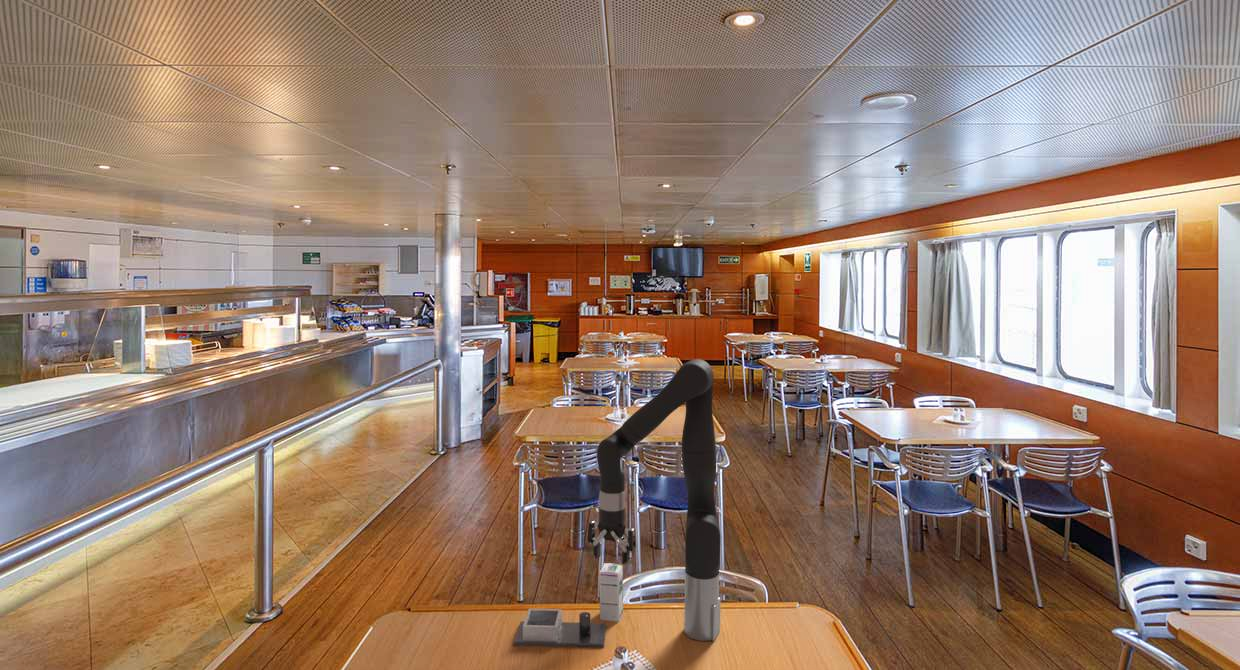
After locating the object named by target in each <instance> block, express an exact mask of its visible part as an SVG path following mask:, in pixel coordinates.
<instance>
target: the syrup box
mask: <svg viewBox="0 0 1240 670" xmlns="http://www.w3.org/2000/svg"><path fill="white" fill-rule="evenodd" d="M598 575H599V620H600V621H601V620H602V621H607V622H614V623H615V622H616V623H617V622H620V620H621V618H622V615H623V614H624V580H623V578H624V577H623V576H624V573H623V564H621V563H610V562H609V563H606V562H604V563H603V566H602V567H601V568H600V571H599V574H598Z"/></svg>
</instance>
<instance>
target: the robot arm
mask: <svg viewBox="0 0 1240 670" xmlns="http://www.w3.org/2000/svg"><path fill="white" fill-rule="evenodd" d="M714 375H715V374H714V371H713V369H712V367H711V365H710V364H709V363H708V362H707V361H705V360H703V359H700V358H695V359H691V360H689V361H687V362H685V363H684V364H682V365H681V366H680V367H679V368H678V370H677V371H676V373H675V374H673V377H672V378H671V379H670V380H669V381H668V383H667V384H666V385H665V386H664V388H662V389H661V391H660V392H658V393H657V394H656V395H655V396H653V397H652V399H650V400H649V401H648V402H646V403H645V404H644V405H642V406H641V407H640V408H639V409H637V410H636V411H635V412H634V413H633V414H632V415H631V416H630V417H628V418H627V419H626V420H625V421H624V422H623V424H622V425H621V426H620V427H619V428H618V429H617V430H615V431H614V432H612V434H610V435H608V436H607V437H606V438H604V439H602V440H601V441H600V442H599V444H598V446H597V452H596V458H597V459H596V460H597V466H598V472H599V475H600V477H599V479H600V480H599V487H600V488H599V495H598V522H597V521H596V519H593V520H591V521H589V523H588V525H587V526H588V527H587V529H588V530H587V542H588V543H590V544H592V546H593V556H594V557H595V559H597V560H599V559H600V557H601V555H602V552H601V551H602V544H601V542H602V540H603V539H604V541H611V542H613V543H615V542H616V544H617V545H618V546H619V547H620V548H621V549H622V553H621V555H622V558H621V559H622V561H621V565H626V564H627V563H628V562H629V560H630V552H633V551H634V550H635V549H636V548H637V535H636V534H637V533H636V528H635V527H631V528H628V527H626V525H625V523H626V492H625V491H626V489H625V488H626V487H625V486H626V485H625V484H626V477H625V472H624V470H623V469H622V468H621V459H622V458H624V457H625V456H626V455H627V454H628V453H629V452H630V451H632V449H634V447H635V446H636V445H637V444H638V443H640V442H642V441H643V440H644V439H645V438H647V437H648V436H649V435H650V434H651V433H653V432H654V431H655V430H656V429H657V428H658V427H659V426H660V425H661V424H662V423H663V422H664V421H665V420H666V419H667V418H668V417H669V416H670V415H671V414H672V413H674V412H675V411H676V410H677V409H678V408H679V407H681V406H683V405H684V404H685V417H684V423H683V428H682V435H681V462H682V470H683V476H684V480H685V481H684V482H685V485H686V491H687V507H686V508H687V510H686V511H687V512H686V522H685V548H684V549H685V553H684V555H685V558H684V559H685V560H684V565H685V566H684V618H683V619H684V623H683V625H684V627H683V628H684V631H683V632H684V634H685V633H686V634H685V635H686V636H687V637H688V638H690V639H692V640H694V639H695V641H700V642H706V641H707V642H708V641H711V640H712V641H711V642H715V641H716V638H717V637H718V635H719V633H720V631H721V612H722V611H721V608H722V607H721V601H722V600H721V599H722V598H721V597H720V595H719V594H720V592H719V589H720V565H721V529H720V528H721V527H720V523H719V520H718V519H719V518H718V515H717V508H716V500H715V485H716V477H717V449H716V448H717V446H716V445H717V444H716V435H715V434H716V433H715V423H714V416H713V395H714V394H713V393H714V378H715V376H714ZM596 529H598V531H599V535H598V536H597V537H596ZM625 535H626V536H627V537H626V536H625ZM627 538H628V539H627Z"/></svg>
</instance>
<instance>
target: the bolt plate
mask: <svg viewBox="0 0 1240 670" xmlns="http://www.w3.org/2000/svg"><path fill="white" fill-rule="evenodd" d="M562 612H563V610H562V609H561V608H560V609H559V608H528V610H527V613H526V616H525V619H524V621H523V620H522V621H520V622H519V625H518V628H517V631H516V634H515V638H514V639H513V646H521V647H522V646H523V647H524V646H525V647H526V646H529V647H571V648H573V647H574V648H576V647H577V648H605V641H606V631H607V630H606V629H607V623H606V622H591V613H590V612H586V611H584V612H581V613H579V615H578V616H579V621H578V622H574V621H573V622H566V621H565V622H564V621H563V619H562V618H563V616H562ZM562 621H563V622H562Z"/></svg>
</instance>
